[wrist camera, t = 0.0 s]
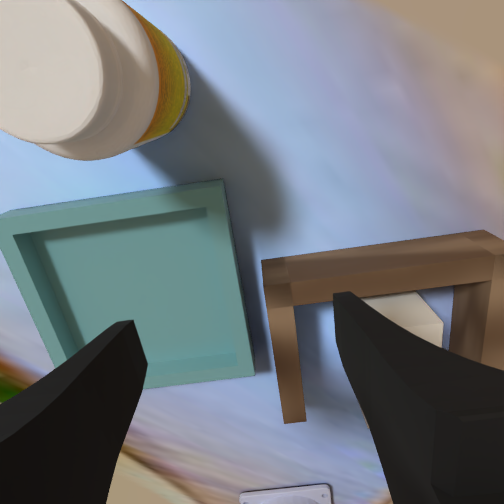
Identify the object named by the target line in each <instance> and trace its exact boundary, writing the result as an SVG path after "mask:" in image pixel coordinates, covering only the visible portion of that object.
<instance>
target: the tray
mask: <svg viewBox="0 0 504 504" xmlns="http://www.w3.org/2000/svg"><path fill="white" fill-rule="evenodd" d="M0 249H1V251H2V253H3V255H4V258H5V260H6V262H7V264H8V266H9V268H10V271H11V273H12V275H13V277H14V279H15V281H16V284H17V286H18V288H19V290H20V292H21V294H22V297H23V299H24V301H25V303H26V305H27V308H28V310H29V312H30V314H31V316H32V318H33V321H34V323H35V325H36V327H37V329H38V331H39V334H40V336H41V338H42V340H43V342H44V345H45V347H46V349H47V351H48V353H49V355H50V358H51V360H52V362H53V364H54V366H55V368H57V367H58V366H60V365H61V364H62V363H64V362H65V361H66V360H68V359H69V358H70V357H72V356H73V355H74V354H75V353H77V352H78V351H79V350H81V349H82V348H83V347H84V346H86V345H87V344H88V343H89V342H91V341H92V340H93V339H94V338H96V337H97V336H98V335H99V334H101V333H102V332H103V331H104V330H106V329H107V328H108V327H110V326H111V325H113V324H114V323H116V322H118V321H125V320H134V323H135V326H136V329H137V332H138V335H139V338H140V341H141V344H142V347H143V350H144V353H145V356H146V359H147V362H148V367H147V372H146V377H145V382H144V386H143V389H149V388H157V387H165V386H173V385H182V384H190V383H198V382H206V381H215V380H223V379H231V378H240V377H248V376H255V355H254V350H253V344H252V338H251V333H250V327H249V321H248V316H247V310H246V305H245V299H244V293H243V288H242V282H241V276H240V271H239V265H238V259H237V254H236V248H235V243H234V237H233V231H232V226H231V220H230V214H229V209H228V203H227V198H226V192H225V186H224V181H223V179H217V180H211V181H204V182H197V183H190V184H184V185H177V186H170V187H163V188H157V189H150V190H143V191H137V192H130V193H123V194H116V195H110V196H103V197H96V198H89V199H83V200H76V201H69V202H62V203H56V204H49V205H42V206H36V207H29V208H22V209H15V210H10V211H7V212H5V213H3V214H1V215H0Z"/></svg>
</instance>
